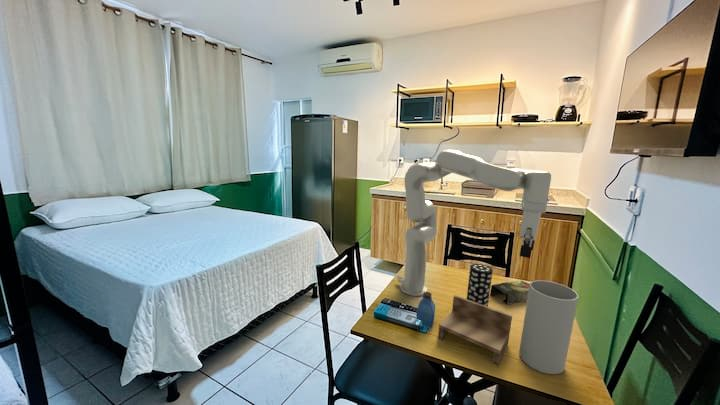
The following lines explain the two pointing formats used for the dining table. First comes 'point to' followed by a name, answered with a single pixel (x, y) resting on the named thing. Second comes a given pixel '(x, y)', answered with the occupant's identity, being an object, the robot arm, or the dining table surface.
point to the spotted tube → (479, 283)
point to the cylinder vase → (548, 326)
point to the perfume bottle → (426, 310)
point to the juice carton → (512, 291)
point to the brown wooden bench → (478, 326)
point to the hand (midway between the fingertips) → (526, 252)
